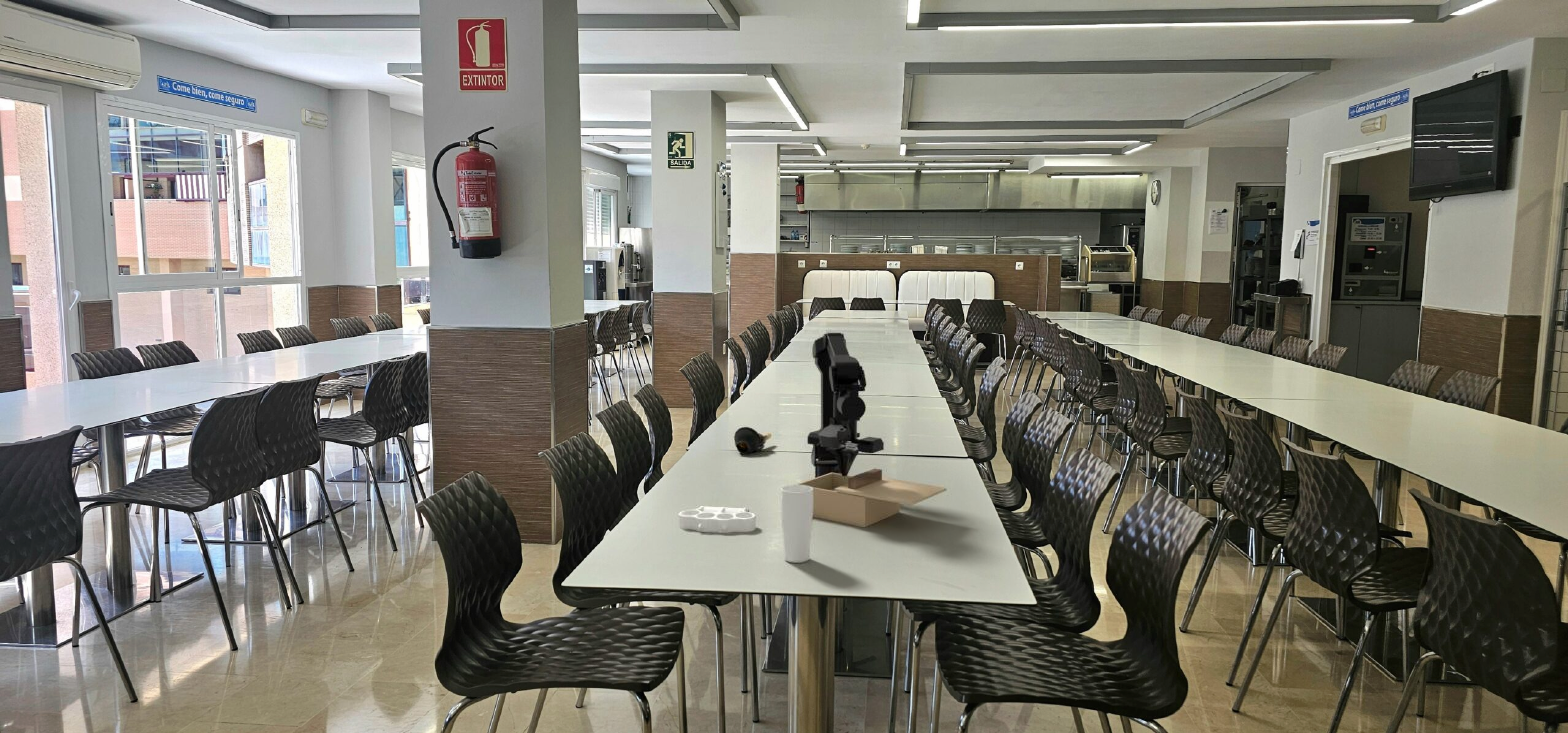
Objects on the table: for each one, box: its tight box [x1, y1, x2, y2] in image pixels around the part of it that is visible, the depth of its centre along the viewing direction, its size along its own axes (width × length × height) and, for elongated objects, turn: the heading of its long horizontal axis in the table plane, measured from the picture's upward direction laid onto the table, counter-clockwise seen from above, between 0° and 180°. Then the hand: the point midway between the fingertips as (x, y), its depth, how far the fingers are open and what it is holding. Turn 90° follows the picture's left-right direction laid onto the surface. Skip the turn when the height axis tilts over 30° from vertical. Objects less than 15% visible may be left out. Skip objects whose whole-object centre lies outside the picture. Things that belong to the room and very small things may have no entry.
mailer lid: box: [835, 468, 948, 506], centre depth 218 cm, size 21×17×3 cm
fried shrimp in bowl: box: [733, 426, 772, 455], centre depth 298 cm, size 9×11×18 cm
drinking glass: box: [780, 484, 814, 564], centre depth 190 cm, size 7×7×15 cm
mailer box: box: [794, 473, 901, 528], centre depth 226 cm, size 20×16×7 cm
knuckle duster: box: [678, 505, 757, 534], centre depth 216 cm, size 3×18×15 cm
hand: (844, 476), depth 226 cm, fingers closed
